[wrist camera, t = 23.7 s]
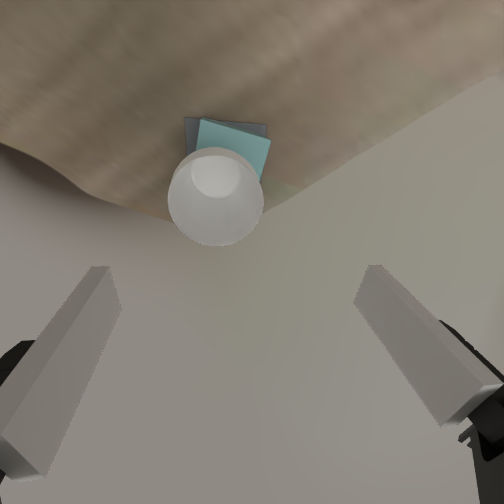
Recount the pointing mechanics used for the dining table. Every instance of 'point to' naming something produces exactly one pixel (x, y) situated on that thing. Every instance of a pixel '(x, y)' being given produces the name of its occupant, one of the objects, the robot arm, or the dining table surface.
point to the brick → (234, 141)
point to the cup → (215, 197)
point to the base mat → (194, 123)
